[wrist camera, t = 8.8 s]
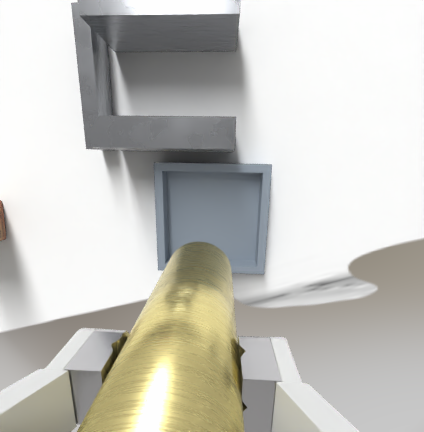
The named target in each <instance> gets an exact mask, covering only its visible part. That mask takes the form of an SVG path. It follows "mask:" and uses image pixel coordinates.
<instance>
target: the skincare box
mask: <svg viewBox="0 0 424 432" xmlns="http://www.w3.org/2000/svg"><path fill="white" fill-rule="evenodd" d="M5 239H6V230H5V220H4V213H3V206H2V201H1V200H0V241H2V240H5Z"/></svg>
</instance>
